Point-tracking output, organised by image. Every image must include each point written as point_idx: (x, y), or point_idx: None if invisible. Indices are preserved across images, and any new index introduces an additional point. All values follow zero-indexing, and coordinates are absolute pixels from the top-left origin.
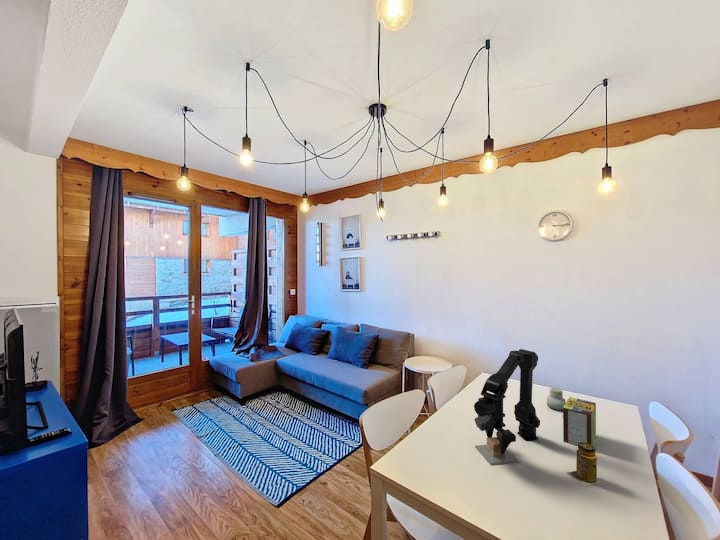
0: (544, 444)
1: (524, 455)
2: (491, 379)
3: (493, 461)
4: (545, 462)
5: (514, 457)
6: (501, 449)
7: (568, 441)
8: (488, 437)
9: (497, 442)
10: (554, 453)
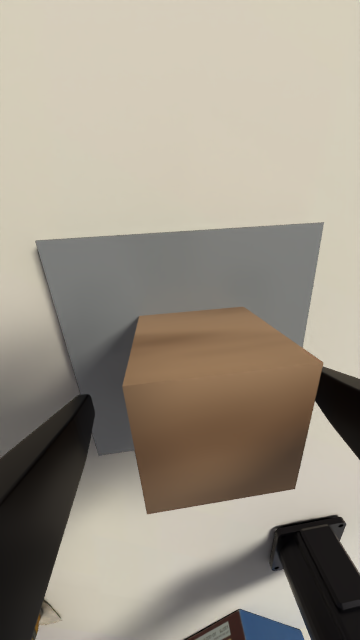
0: (235, 567)
1: None
2: None
3: (68, 285)
4: (103, 541)
5: (129, 447)
6: (22, 442)
7: (228, 627)
8: (340, 387)
9: (179, 455)
10: (170, 577)
